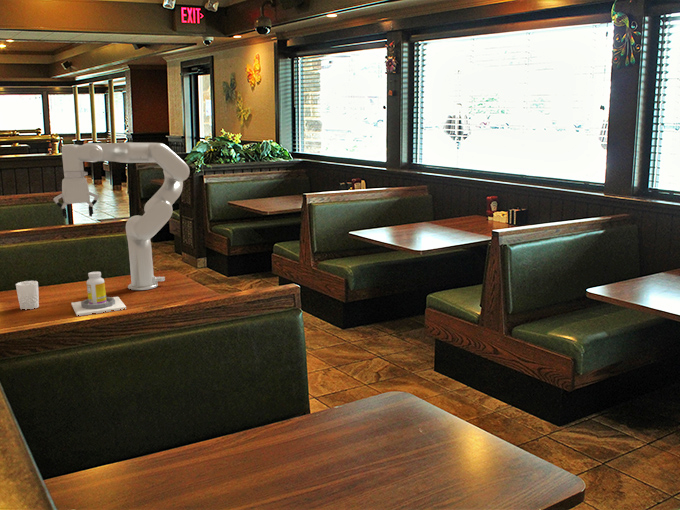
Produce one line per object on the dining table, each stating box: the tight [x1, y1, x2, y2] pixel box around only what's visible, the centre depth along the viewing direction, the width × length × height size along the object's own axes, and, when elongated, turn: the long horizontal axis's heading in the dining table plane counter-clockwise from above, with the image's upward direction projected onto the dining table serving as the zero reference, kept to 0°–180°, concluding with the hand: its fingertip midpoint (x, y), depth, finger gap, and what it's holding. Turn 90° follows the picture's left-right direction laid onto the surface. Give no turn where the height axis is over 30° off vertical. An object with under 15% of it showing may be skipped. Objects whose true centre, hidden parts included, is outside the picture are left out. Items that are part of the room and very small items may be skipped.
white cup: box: [15, 280, 40, 311], centre depth 261 cm, size 8×8×10 cm
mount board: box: [71, 296, 127, 317], centre depth 261 cm, size 18×18×2 cm
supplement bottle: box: [86, 271, 107, 305], centre depth 260 cm, size 7×7×13 cm
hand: (78, 217), depth 273 cm, fingers open, 9 cm apart
